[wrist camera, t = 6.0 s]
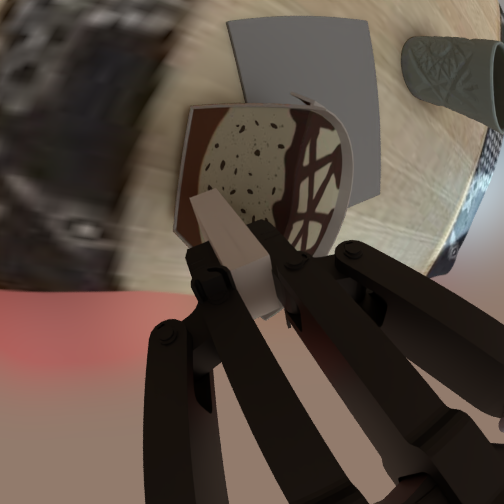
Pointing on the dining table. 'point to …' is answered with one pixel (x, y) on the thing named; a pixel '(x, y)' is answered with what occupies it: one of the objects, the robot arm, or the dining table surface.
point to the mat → (317, 78)
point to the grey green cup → (458, 75)
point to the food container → (269, 170)
